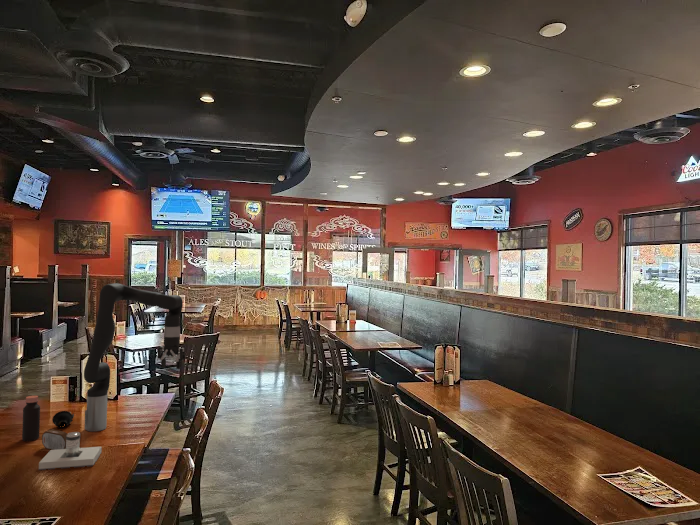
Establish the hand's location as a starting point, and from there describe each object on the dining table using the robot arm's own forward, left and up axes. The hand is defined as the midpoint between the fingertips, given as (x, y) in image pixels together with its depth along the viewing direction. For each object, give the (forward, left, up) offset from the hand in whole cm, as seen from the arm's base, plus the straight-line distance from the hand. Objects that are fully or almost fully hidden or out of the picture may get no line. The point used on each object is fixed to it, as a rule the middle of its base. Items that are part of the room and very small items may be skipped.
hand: (171, 368), depth 237 cm
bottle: (-57, -27, -33) cm, 71 cm away
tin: (-35, -33, -33) cm, 59 cm away
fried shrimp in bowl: (-60, -5, -33) cm, 69 cm away
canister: (-18, -40, -32) cm, 55 cm away
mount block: (-18, -41, -33) cm, 55 cm away
